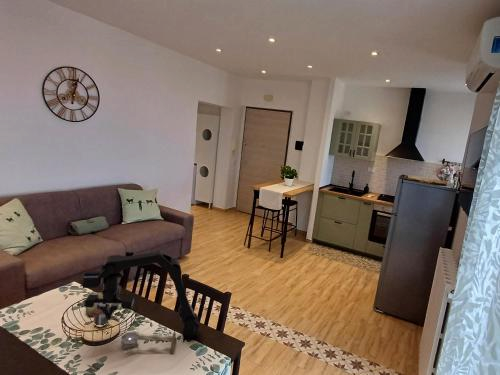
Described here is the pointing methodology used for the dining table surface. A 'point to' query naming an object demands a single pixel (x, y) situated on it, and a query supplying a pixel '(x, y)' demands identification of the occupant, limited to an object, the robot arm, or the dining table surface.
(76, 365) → the dining table surface
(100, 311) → the supplement bottle
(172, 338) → the channel
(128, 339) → the stud
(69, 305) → the dining table surface
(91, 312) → the bread roll
